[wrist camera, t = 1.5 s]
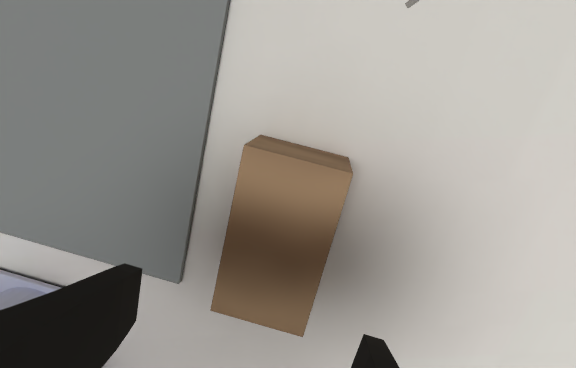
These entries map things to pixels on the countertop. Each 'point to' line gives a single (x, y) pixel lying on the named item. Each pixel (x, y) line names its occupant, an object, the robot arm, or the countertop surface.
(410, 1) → the sign
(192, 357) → the countertop surface
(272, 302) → the card box
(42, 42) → the mat
